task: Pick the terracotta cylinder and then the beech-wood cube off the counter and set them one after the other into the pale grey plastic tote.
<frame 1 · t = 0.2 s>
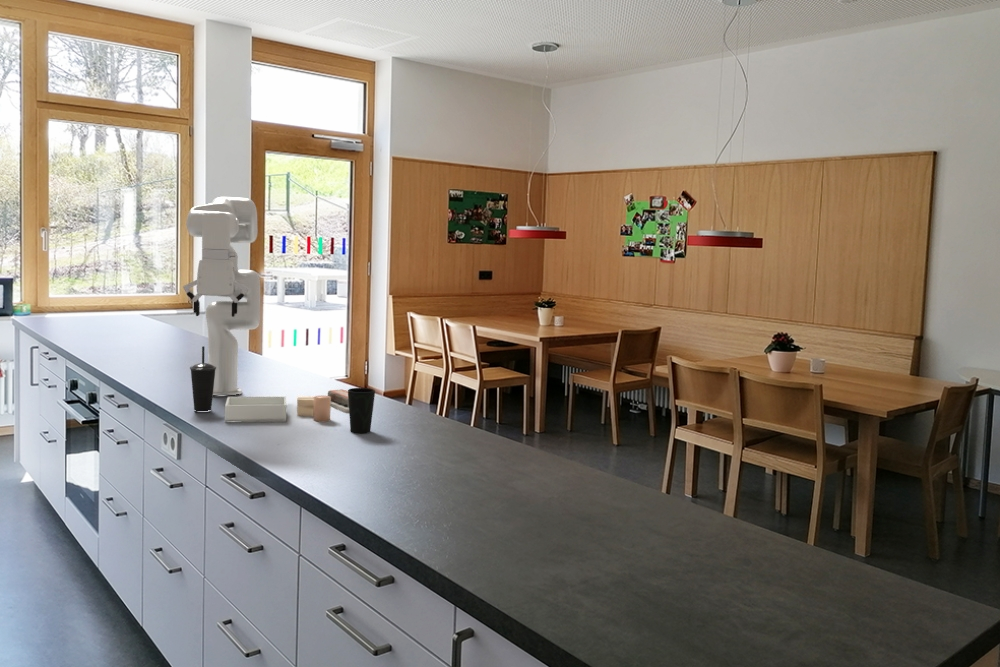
hand: (215, 315, 233), 31 cm above the kitchen island, fingers open, 9 cm apart
drinking cup: (202, 411, 250), on the kitchen island
cylinder: (321, 419, 246), on the kitchen island
tote: (256, 417, 245), on the kitchen island
packaged product: (346, 408, 268), on the kitchen island
cup: (360, 432, 233), on the kitchen island
cube: (305, 414, 253), on the kitchen island
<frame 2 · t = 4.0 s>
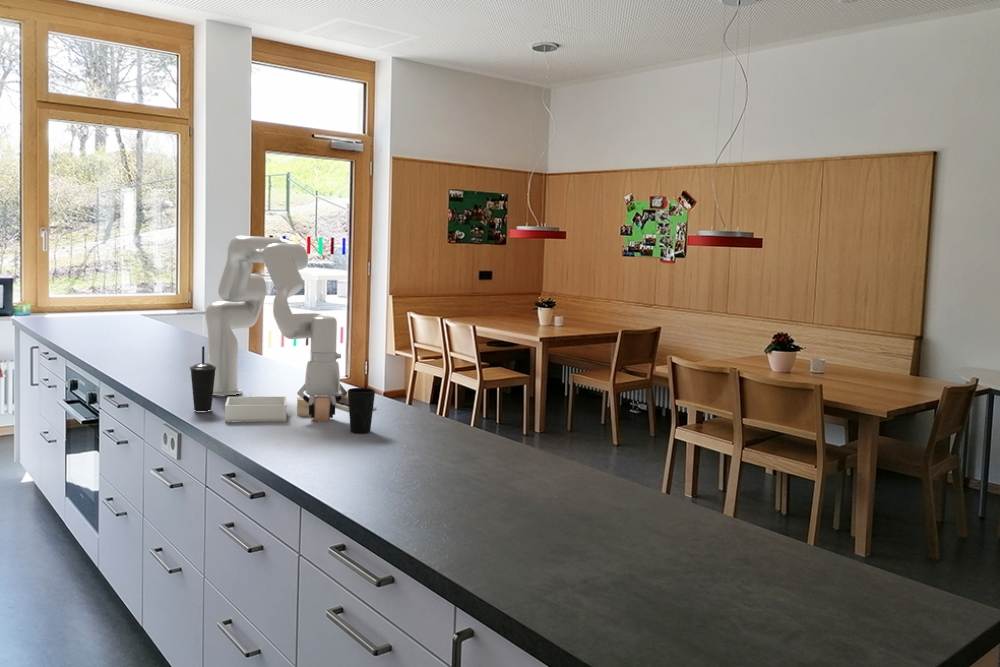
hand: (321, 416, 246), 1 cm above the kitchen island, fingers closed on cylinder, 5 cm apart
cylinder: (321, 419, 246), on the kitchen island, touching gripper
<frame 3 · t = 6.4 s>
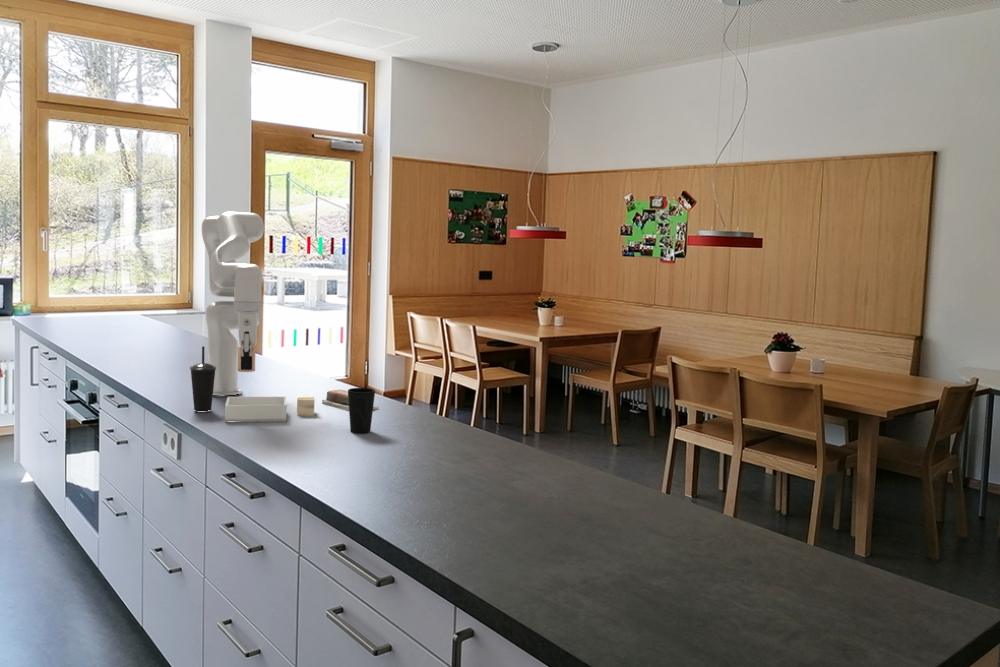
hand: (246, 367, 243), 15 cm above the kitchen island, fingers closed on cylinder, 5 cm apart
cylinder: (246, 370, 243), point 14 cm above the kitchen island, touching gripper
when the fingers open (4 cm above the kitchen island, at t = 9.0 s): cylinder drops 2 cm, resting on tote.
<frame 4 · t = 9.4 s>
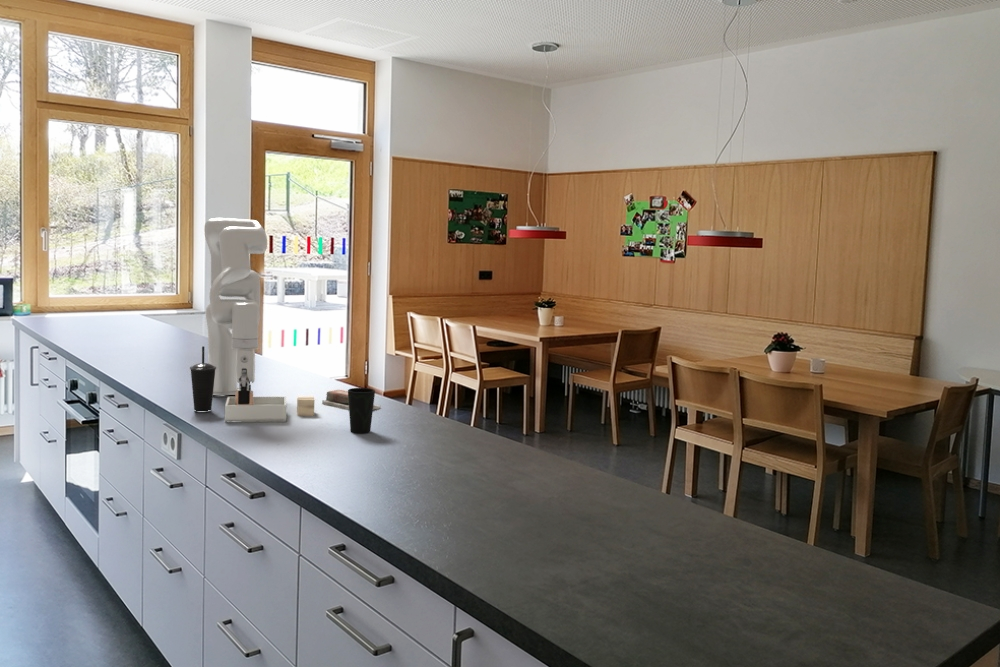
hand: (244, 400, 244), 5 cm above the kitchen island, fingers open, 9 cm apart
cylinder: (244, 414, 244), point 1 cm above the kitchen island, touching tote
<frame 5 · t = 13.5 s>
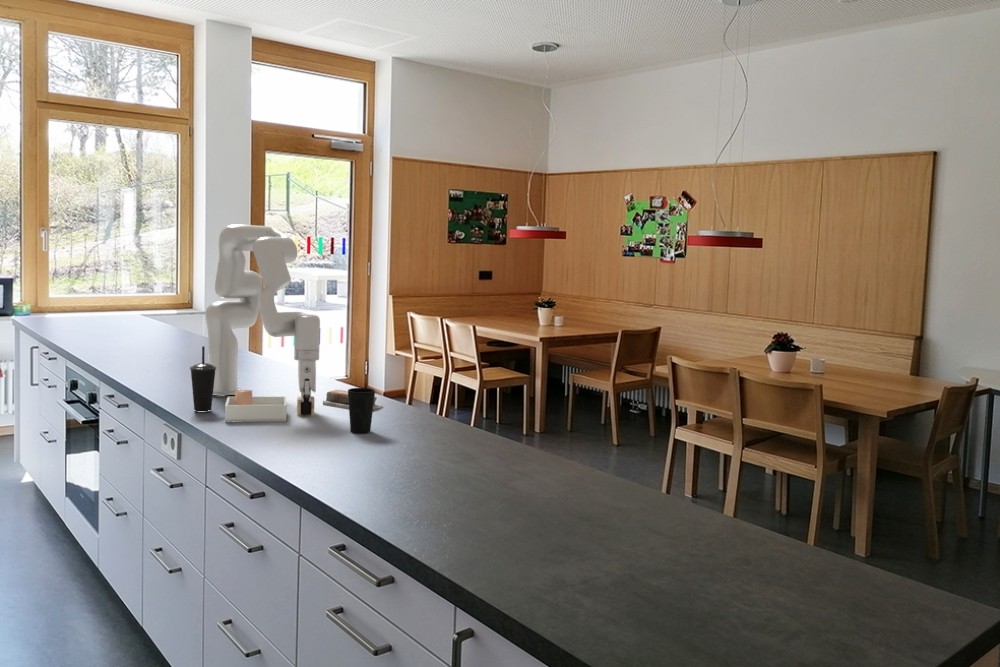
hand: (305, 412, 253), 0 cm above the kitchen island, fingers closed on cube, 5 cm apart
cube: (305, 413, 253), on the kitchen island, touching gripper
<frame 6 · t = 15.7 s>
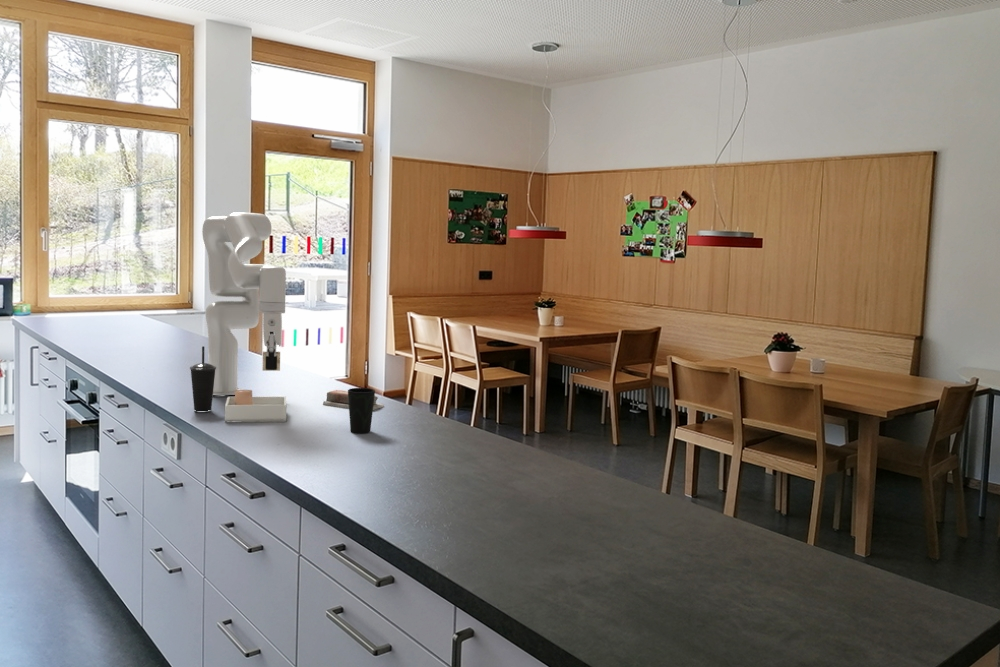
hand: (271, 367, 245), 15 cm above the kitchen island, fingers closed on cube, 5 cm apart
cube: (271, 369, 245), point 15 cm above the kitchen island, touching gripper
when the fingers open (4 cm above the kitchen island, at t = 18.1 s): cube drops 3 cm, resting on tote.
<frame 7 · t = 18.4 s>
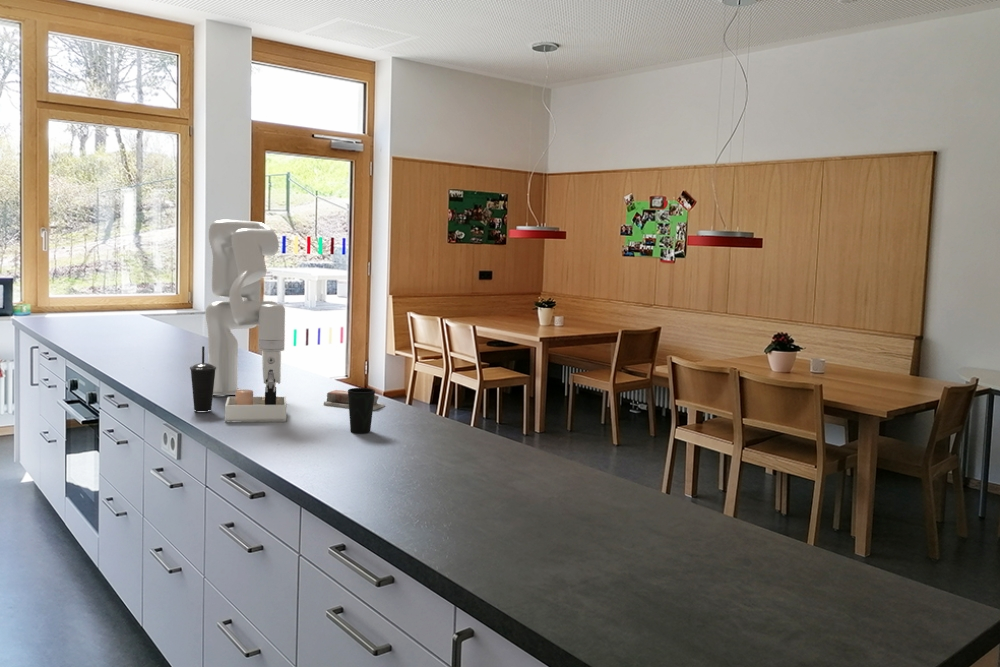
hand: (270, 402, 246), 5 cm above the kitchen island, fingers open, 8 cm apart
cube: (270, 414, 246), point 1 cm above the kitchen island, touching tote
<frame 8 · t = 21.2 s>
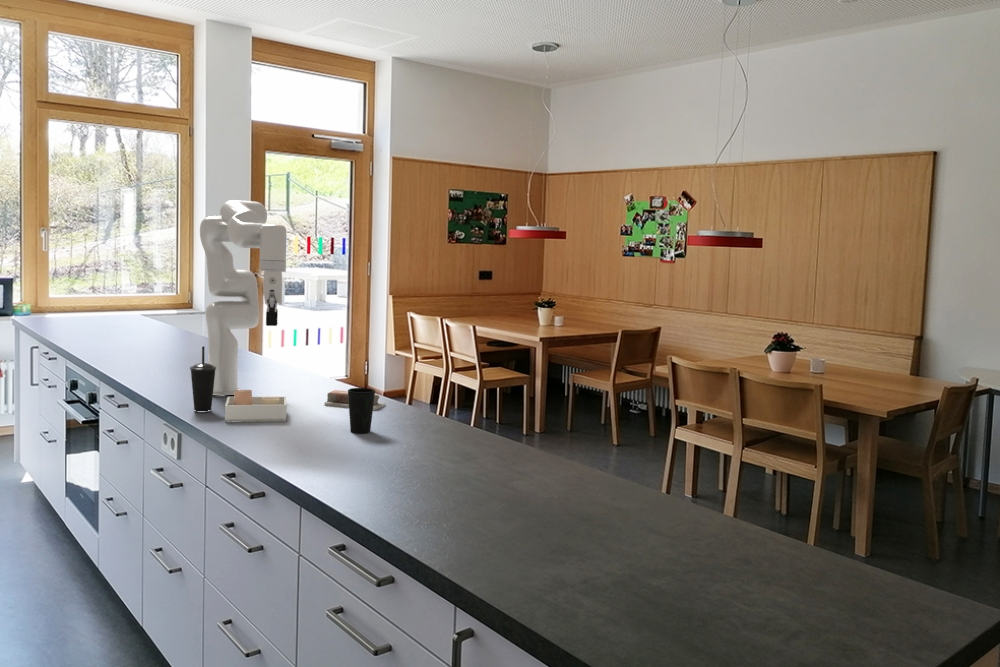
hand: (271, 323, 243), 28 cm above the kitchen island, fingers open, 9 cm apart
at the end: cylinder inside the target area on the tote (3.6 cm from its centre), point 0.9 cm above the tote's base; cube inside the target area on the tote (4.0 cm from its centre), point 0.8 cm above the tote's base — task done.
